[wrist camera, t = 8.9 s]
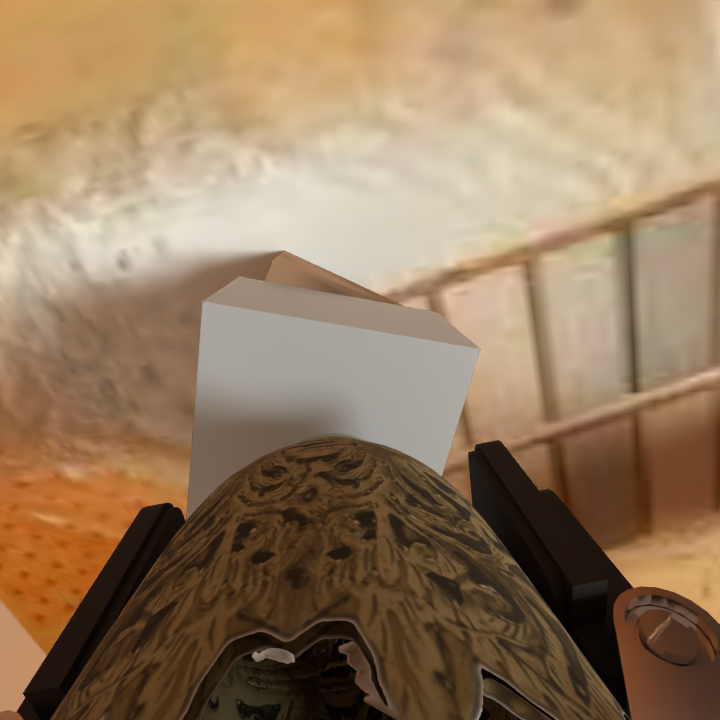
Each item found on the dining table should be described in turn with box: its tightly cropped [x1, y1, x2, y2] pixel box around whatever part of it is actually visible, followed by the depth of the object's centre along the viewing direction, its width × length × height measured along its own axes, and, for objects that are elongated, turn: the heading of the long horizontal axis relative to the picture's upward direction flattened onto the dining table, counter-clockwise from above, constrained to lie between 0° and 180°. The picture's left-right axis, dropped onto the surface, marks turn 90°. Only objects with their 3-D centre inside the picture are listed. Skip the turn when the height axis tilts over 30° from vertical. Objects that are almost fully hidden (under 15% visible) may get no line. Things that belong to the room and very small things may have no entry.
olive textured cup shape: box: [50, 433, 630, 720], centre depth 8 cm, size 8×7×8 cm
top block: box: [186, 276, 481, 521], centre depth 15 cm, size 8×8×5 cm
